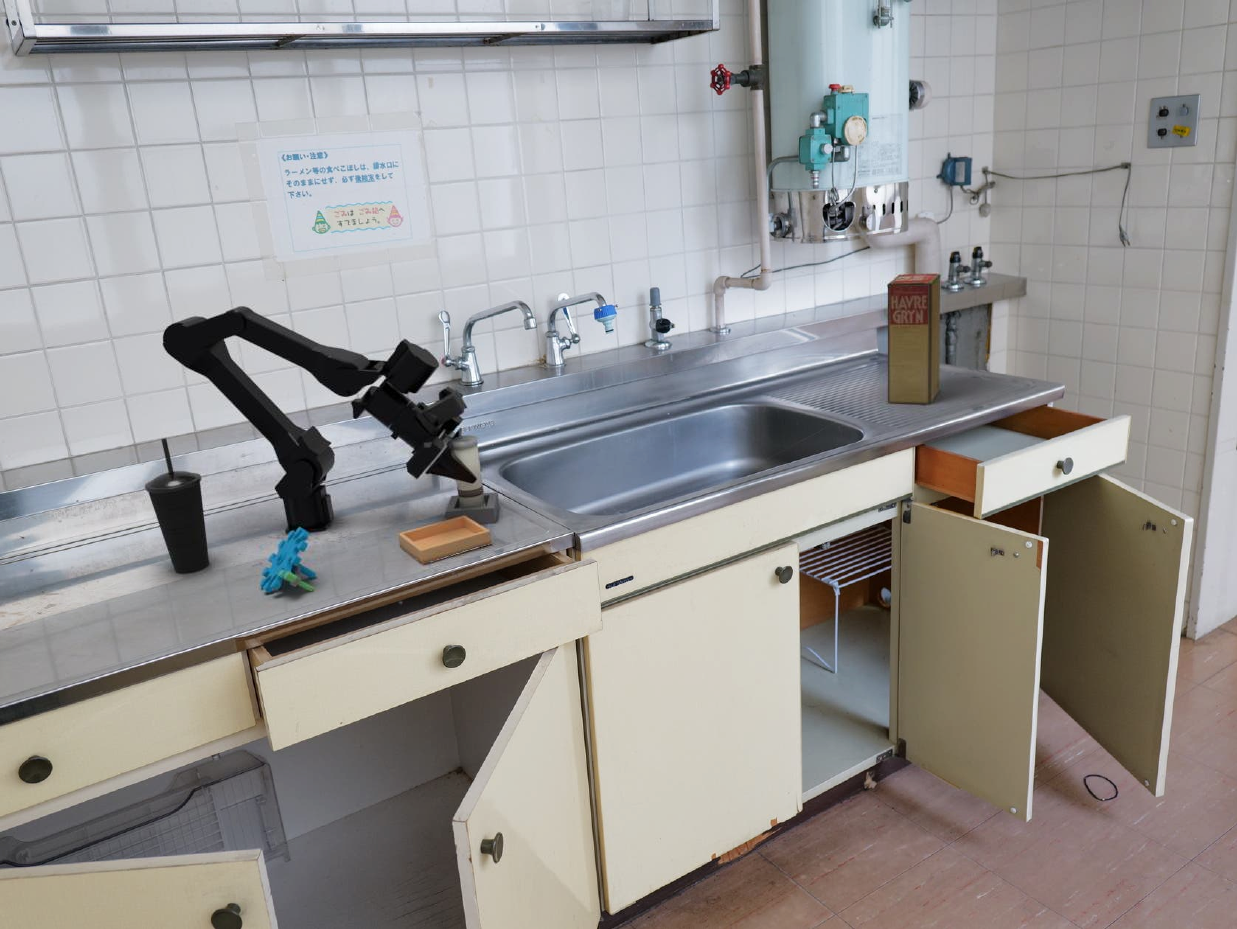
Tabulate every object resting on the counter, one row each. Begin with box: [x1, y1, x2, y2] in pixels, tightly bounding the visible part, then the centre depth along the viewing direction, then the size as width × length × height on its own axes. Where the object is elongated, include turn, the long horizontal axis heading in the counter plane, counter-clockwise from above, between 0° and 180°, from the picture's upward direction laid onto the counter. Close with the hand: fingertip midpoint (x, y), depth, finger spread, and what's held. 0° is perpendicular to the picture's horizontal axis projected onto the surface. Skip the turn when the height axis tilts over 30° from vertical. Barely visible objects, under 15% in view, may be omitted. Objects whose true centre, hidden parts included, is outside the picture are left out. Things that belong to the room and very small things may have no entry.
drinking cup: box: [144, 438, 210, 574], centre depth 146 cm, size 8×8×20 cm
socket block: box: [445, 491, 500, 525], centre depth 160 cm, size 8×8×2 cm
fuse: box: [450, 434, 486, 508], centre depth 158 cm, size 4×4×13 cm
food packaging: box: [886, 273, 941, 406], centre depth 207 cm, size 13×9×25 cm
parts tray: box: [397, 515, 492, 565], centre depth 149 cm, size 11×9×2 cm
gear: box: [259, 527, 317, 594], centre depth 139 cm, size 11×6×10 cm
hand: (477, 477), depth 158 cm, fingers closed on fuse, 4 cm apart
